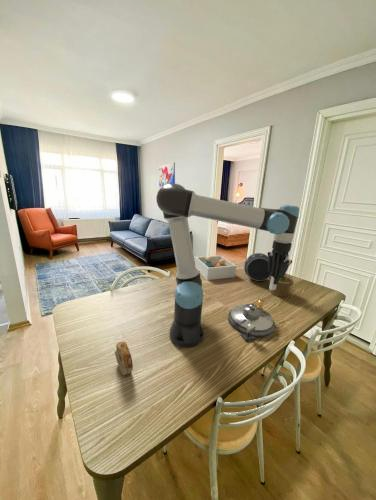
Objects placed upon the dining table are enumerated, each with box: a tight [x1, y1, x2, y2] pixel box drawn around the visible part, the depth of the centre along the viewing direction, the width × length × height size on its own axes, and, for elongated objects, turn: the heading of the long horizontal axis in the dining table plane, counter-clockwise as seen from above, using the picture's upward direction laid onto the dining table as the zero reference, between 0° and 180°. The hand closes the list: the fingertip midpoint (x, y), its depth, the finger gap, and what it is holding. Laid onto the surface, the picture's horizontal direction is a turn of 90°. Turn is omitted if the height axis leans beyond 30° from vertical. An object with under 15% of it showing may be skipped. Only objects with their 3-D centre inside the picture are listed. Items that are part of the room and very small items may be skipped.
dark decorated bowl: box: [244, 252, 270, 282], centre depth 151 cm, size 11×20×20 cm, turn 78°
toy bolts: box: [204, 256, 227, 268], centre depth 163 cm, size 18×17×12 cm
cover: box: [243, 303, 261, 320], centre depth 102 cm, size 8×8×6 cm
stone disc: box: [114, 341, 134, 376], centre depth 73 cm, size 10×4×10 cm, turn 35°
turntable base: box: [227, 310, 276, 339], centre depth 104 cm, size 22×22×2 cm
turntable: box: [230, 299, 274, 332], centre depth 102 cm, size 20×20×6 cm
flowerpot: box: [268, 275, 294, 298], centre depth 131 cm, size 14×14×30 cm
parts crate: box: [194, 255, 237, 281], centre depth 162 cm, size 23×24×9 cm
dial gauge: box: [240, 323, 257, 342], centre depth 92 cm, size 5×4×8 cm
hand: (272, 289), depth 98 cm, fingers closed
